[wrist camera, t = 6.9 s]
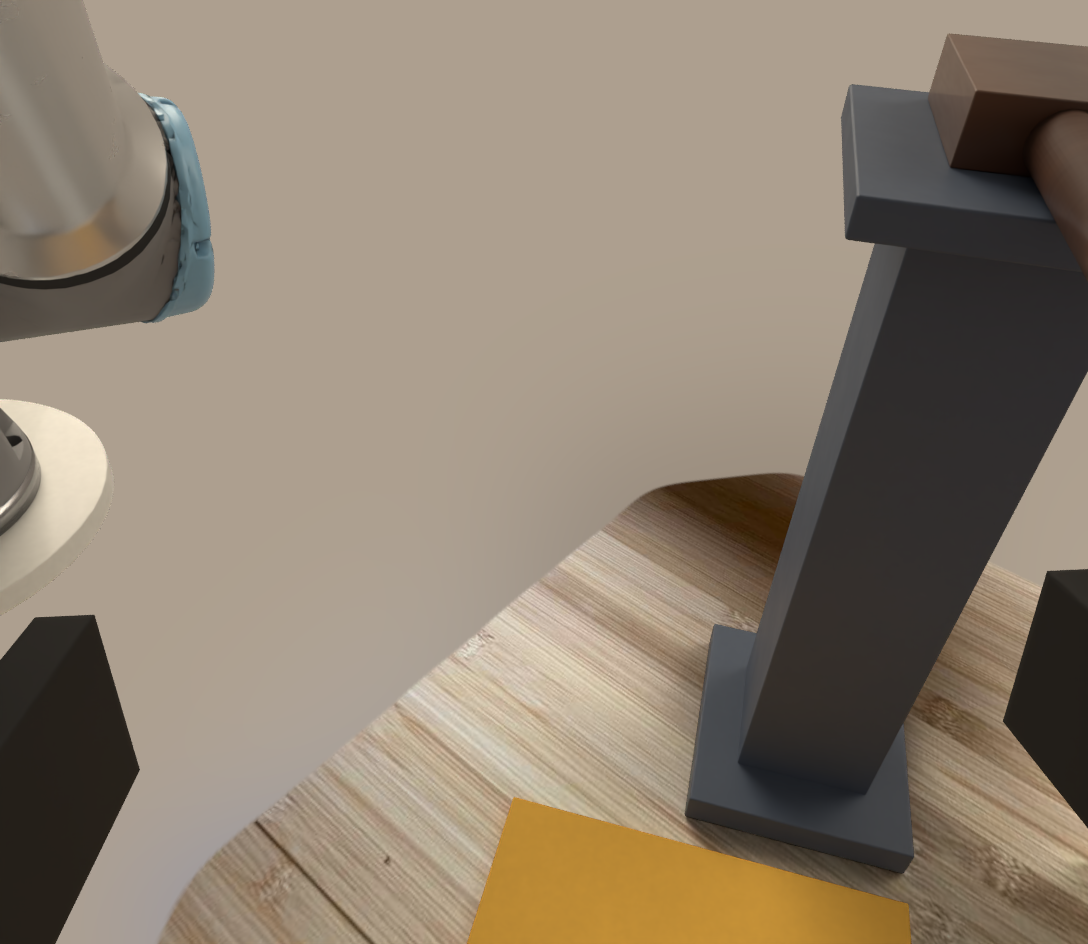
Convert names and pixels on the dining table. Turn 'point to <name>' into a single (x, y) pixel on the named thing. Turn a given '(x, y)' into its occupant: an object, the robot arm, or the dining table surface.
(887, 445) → the grey slanted pedestal
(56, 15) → the robot arm
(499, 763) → the dining table surface
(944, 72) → the brown wooden paddle
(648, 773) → the dining table surface
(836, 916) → the cloth
